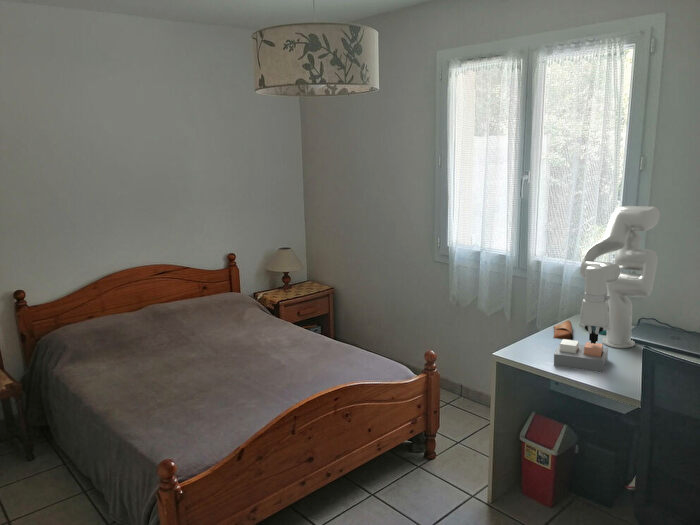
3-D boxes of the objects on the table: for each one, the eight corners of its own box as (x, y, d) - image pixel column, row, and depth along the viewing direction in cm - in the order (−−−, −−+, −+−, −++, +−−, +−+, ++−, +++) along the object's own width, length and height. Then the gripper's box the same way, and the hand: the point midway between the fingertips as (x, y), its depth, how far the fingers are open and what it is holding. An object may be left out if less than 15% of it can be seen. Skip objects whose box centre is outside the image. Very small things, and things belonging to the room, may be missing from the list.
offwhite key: (562, 347, 221) (562, 339, 221) (578, 349, 218) (578, 340, 218) (559, 352, 216) (560, 343, 216) (575, 354, 213) (576, 345, 213)
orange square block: (586, 350, 217) (586, 341, 216) (602, 352, 214) (602, 343, 213) (584, 355, 212) (584, 346, 211) (600, 357, 209) (601, 349, 208)
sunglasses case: (552, 325, 260) (560, 314, 258) (565, 333, 259) (573, 322, 257) (552, 338, 244) (561, 327, 241) (567, 346, 242) (575, 335, 240)
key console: (560, 353, 226) (560, 342, 225) (607, 359, 217) (608, 348, 216) (553, 365, 215) (554, 353, 214) (603, 372, 205) (603, 360, 204)
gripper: (617, 296, 207) (615, 342, 211) (576, 293, 215) (574, 337, 218) (615, 301, 201) (613, 348, 205) (572, 298, 209) (571, 343, 212)
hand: (593, 342), depth 211 cm, fingers closed
